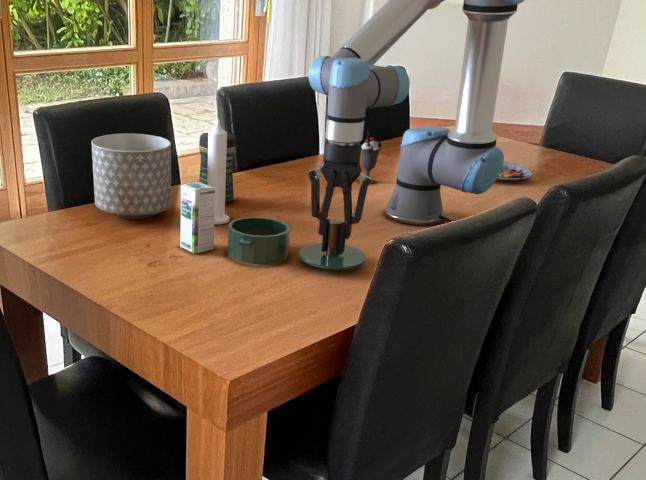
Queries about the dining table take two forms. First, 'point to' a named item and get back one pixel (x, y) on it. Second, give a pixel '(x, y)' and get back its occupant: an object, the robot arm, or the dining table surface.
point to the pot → (258, 240)
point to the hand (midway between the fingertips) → (332, 250)
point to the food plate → (514, 172)
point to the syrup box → (197, 217)
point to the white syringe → (218, 170)
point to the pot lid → (332, 252)
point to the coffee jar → (229, 163)
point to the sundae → (370, 154)
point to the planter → (132, 174)
